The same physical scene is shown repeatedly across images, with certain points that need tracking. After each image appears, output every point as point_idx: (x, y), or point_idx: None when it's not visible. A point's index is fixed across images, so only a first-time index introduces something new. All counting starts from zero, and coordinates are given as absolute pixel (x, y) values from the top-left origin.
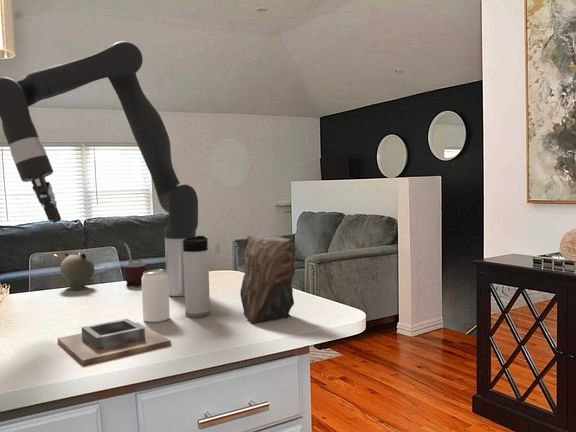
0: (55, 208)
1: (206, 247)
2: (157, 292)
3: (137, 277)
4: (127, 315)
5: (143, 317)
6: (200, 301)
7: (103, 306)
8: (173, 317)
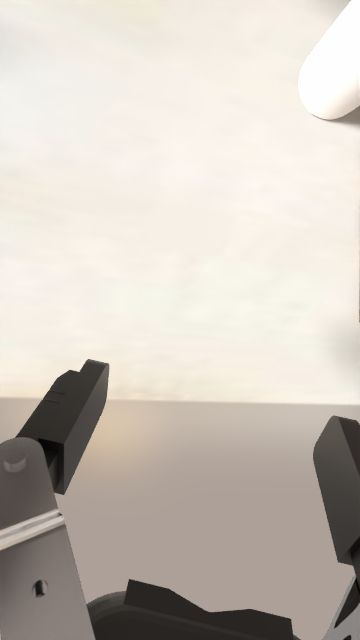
0: (68, 438)
1: None
2: None
3: None
4: (243, 142)
5: (330, 117)
6: None
7: (104, 175)
8: None
